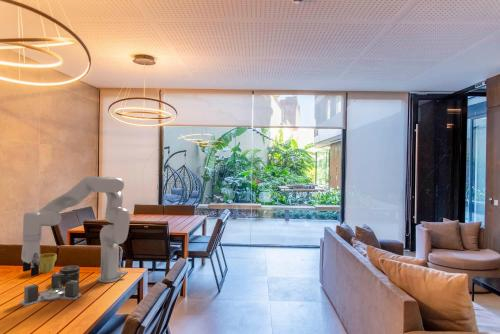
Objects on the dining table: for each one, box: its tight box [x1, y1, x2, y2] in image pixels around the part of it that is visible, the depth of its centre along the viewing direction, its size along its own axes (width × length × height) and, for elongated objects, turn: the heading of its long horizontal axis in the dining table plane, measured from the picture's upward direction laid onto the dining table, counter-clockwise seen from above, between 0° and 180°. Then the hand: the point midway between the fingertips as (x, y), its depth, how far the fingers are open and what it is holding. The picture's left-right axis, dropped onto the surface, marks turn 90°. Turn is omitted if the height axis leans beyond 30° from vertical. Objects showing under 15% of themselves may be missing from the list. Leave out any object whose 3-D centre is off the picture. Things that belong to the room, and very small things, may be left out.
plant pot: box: [39, 252, 58, 274], centre depth 199 cm, size 10×10×10 cm
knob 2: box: [50, 271, 62, 289], centre depth 172 cm, size 5×4×7 cm
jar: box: [59, 265, 81, 285], centre depth 183 cm, size 10×10×8 cm
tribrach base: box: [20, 284, 83, 307], centre depth 164 cm, size 26×22×3 cm
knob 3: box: [64, 280, 80, 297], centre depth 161 cm, size 5×4×7 cm
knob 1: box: [23, 283, 39, 302], centre depth 154 cm, size 5×4×7 cm
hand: (30, 273), depth 154 cm, fingers open, 9 cm apart
